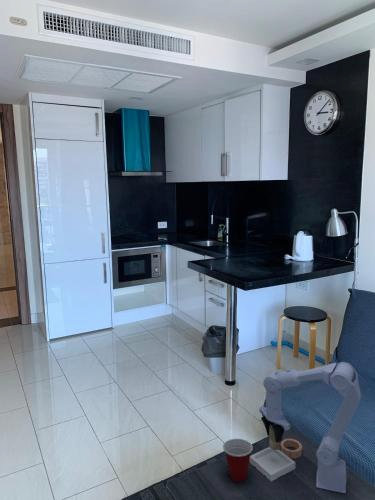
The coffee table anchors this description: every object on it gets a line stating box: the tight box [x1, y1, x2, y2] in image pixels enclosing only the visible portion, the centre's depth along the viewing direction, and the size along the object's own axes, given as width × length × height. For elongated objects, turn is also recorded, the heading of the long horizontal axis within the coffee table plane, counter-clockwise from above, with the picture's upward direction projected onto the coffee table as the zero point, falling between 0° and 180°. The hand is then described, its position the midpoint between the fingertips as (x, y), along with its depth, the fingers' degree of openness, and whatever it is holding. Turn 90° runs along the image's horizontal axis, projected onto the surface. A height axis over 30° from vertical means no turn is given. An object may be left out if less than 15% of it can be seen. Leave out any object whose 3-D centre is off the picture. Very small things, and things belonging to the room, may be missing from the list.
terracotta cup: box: [280, 438, 303, 459], centre depth 150 cm, size 8×8×3 cm
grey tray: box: [249, 446, 296, 482], centre depth 143 cm, size 12×12×2 cm
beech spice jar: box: [268, 422, 281, 450], centre depth 143 cm, size 4×4×9 cm
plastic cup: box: [222, 438, 254, 483], centre depth 138 cm, size 11×11×12 cm
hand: (274, 438), depth 143 cm, fingers closed on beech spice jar, 4 cm apart
